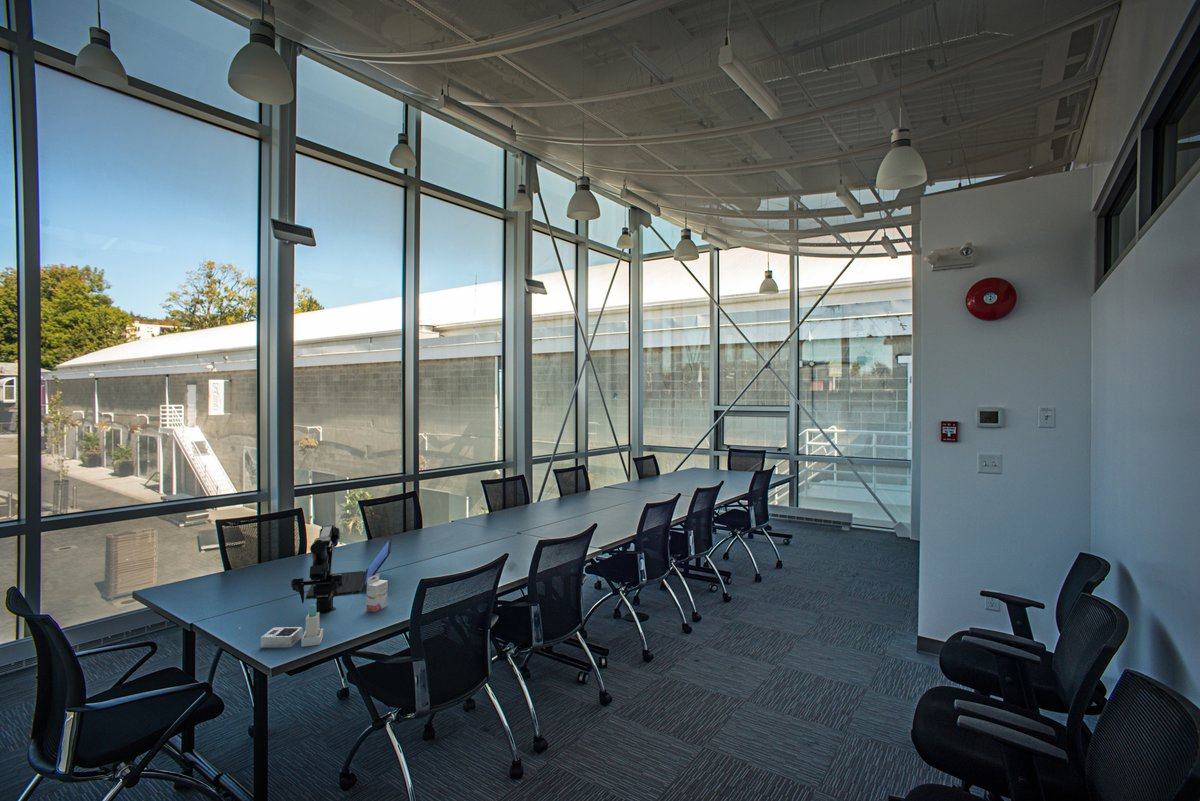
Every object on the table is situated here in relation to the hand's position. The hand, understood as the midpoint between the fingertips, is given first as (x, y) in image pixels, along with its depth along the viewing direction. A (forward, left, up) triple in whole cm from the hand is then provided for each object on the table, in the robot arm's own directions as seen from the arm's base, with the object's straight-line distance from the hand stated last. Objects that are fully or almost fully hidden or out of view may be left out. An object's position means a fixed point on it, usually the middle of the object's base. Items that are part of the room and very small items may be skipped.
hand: (315, 601), depth 228 cm
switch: (+10, -6, -13) cm, 18 cm away
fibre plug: (+5, +4, -13) cm, 15 cm away
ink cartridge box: (-31, +4, -13) cm, 34 cm away
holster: (+5, +4, -13) cm, 15 cm away
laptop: (-54, -32, -13) cm, 64 cm away
